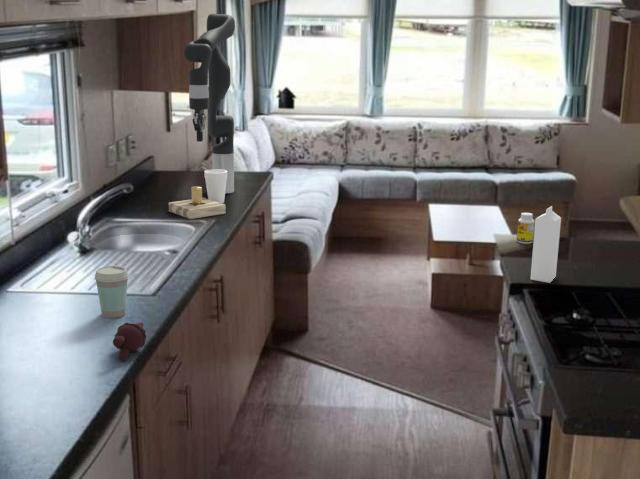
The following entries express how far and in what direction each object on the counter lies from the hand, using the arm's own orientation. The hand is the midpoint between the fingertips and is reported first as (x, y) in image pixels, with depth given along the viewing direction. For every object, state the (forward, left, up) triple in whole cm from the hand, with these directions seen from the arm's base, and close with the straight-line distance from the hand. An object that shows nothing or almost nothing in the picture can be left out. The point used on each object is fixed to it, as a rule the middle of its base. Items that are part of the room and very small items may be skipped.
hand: (199, 141), depth 329 cm
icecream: (+115, -91, -27) cm, 149 cm away
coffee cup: (+91, -83, -27) cm, 126 cm away
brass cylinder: (+5, -5, -27) cm, 28 cm away
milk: (+140, +33, -27) cm, 146 cm away
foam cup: (-6, +11, -27) cm, 30 cm away
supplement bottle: (+110, +63, -27) cm, 130 cm away
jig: (+5, -5, -27) cm, 28 cm away
